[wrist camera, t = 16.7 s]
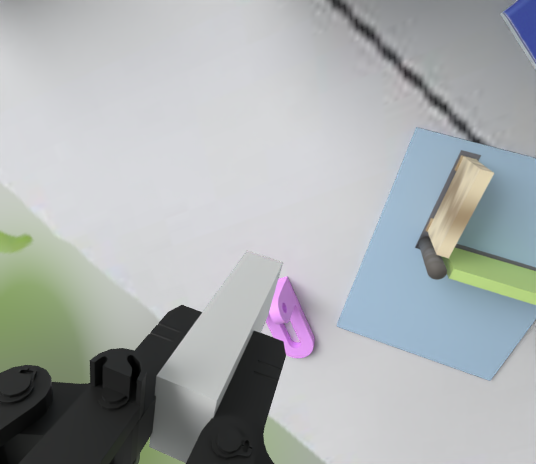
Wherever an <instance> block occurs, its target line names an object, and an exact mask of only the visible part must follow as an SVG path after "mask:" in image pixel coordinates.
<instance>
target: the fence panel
mask: <svg viewBox="0 0 536 464" xmlns="http://www.w3.org/2000/svg"><path fill="white" fill-rule="evenodd" d="M441 257H442V256H441ZM442 259H443V262H444V264H445V266H446V269H447V276H448V278H449V279H452V280H456V281H459V282H462V283H465V284H469V285H472V286H475V287H478V288H482V289H485V290H488V291H491V292H495V293H498V294H501V295H504V296H508V297H511V298H514V299H517V300H521V301H524V302H527V303H530V304H533V305H536V271H534V270H530V269H527V268H523V267H520V266H517V265H513V264H510V263H506V262H503V261H500V260H496V259H493V258H489V257H486V256H483V255H479V254H476V253H472V252H469V251H466V250H462V249H459V248H454V250H453V251H452V253H451V255H450V257H449V258H445V257H442Z"/></svg>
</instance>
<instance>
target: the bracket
mask: <svg viewBox="0 0 536 464" xmlns="http://www.w3.org/2000/svg"><path fill="white" fill-rule="evenodd" d="M289 321H291V323H292V326H293V328H294V330H295V332H296V334H297V336H298V338H299V341H300V342H298V343H296V342H293V341H292V340H291V338H290V336H289V334H288V332H287V330H286V328H285V326H284V324H283V323H288V322H289ZM266 323H267V325H268V327H269V329H270V331H271V333H272V335H273V337H274V338H276V339H278V340H281V341H283V342H284V347H285V352H286V355H288V356H290V357H293V358H303V357H306V356H308V355H309V354H310V353H311V352H312V350H313V346H314V335H313V333H312V331H311V328H310V326H309V324H308V322H307V320H306V317H305V315H304V313H303V311H302V308H301V306H300V304H299V302H298V299H297V297H296V295H295V293H294V291H293V288H292V286H291V284H290V282H289V279H288V277H283V278H280V279H278V282H277V285H276V289H275V293H274V296H273V300H272V303H271V307H270V310H269V314H268V317H267V319H266Z"/></svg>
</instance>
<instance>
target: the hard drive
mask: <svg viewBox="0 0 536 464" xmlns="http://www.w3.org/2000/svg"><path fill="white" fill-rule="evenodd" d="M500 15H501V16H502V18H503V19H504V21H505V23H506V24H507V26H508V27H509V29H510V30H511V32H512V34H513V35H514V37H515V38H516V40H517V42H518V43H519V45H520V46H521V48H522V50H523V51H524V53H525V54H526V56H527V57H528V59H529V61H530V62H531V64H532V65H533V67H534V69H535V70H536V0H517V1H516V2H515V3H513V4H512V5H511V6H510V7H508V8H507V9H506V10H504V11H503V12H502V13H501V14H500Z"/></svg>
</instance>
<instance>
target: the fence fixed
mask: <svg viewBox="0 0 536 464" xmlns="http://www.w3.org/2000/svg"><path fill="white" fill-rule="evenodd" d="M454 170H455V171H456V173H455V176H454V178H453V180H452V182H451V184H450V186H449V188H448V190H447V192H446V194H445V196H444V198H443V200H442V203H441V205H440V207H439V209H438V211H437V213H436V215H435V217H434V219H433V218H431V219H430V221H429V224H428V226H427V228H426V231H427V232H428V234H429V236H425V237H423V238H421V239H420V240H419V247H420V250H421V254H422V257H423V260H424V264H425V267H426V270H427V273H428V276H429V277H430V278H432V279H435V280H439V279H442V278H444V277H445V276H446V274H447V269H446V266H445V264H444V262H443V259H442V257H445V258H449V257H450V255H451V253H452V251H453V250H454V248H455V246H456V244H457V242H458V240H459V238H460V236H461V235H462V233H463V231H464V229H465V227H466V225H467V223H468V221H469V220H470V218H471V216H472V214H473V212H474V210H475V208H476V207H477V205H478V203H479V201H480V199H481V197H482V195H483V193H484V192H485V190H486V188H487V186H488V184H489V182H490V180H491V178H492V177H493V175H494V172H492V171H491V170H489V169H488V168H487V167H485V166H484V165H483V164H481V163H480V162H478V161H477V159H473V158H470V157H466V156H462V155H461V157H460V159H459V161H458V163H457V165H456V167H455V169H454ZM441 256H442V257H441Z"/></svg>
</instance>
